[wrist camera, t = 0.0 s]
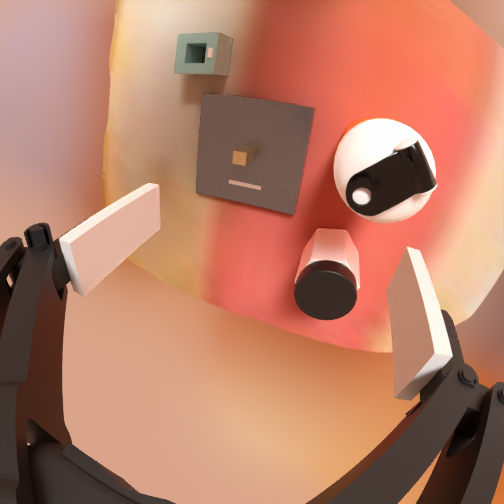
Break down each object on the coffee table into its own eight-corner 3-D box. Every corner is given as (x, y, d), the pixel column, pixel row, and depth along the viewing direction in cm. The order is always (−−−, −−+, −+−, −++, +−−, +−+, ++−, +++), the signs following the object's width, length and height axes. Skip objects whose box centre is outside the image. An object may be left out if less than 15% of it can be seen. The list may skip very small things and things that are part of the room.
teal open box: (195, 39, 33) (177, 34, 28) (232, 38, 32) (217, 32, 27) (191, 74, 36) (172, 73, 32) (227, 75, 35) (212, 73, 31)
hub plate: (207, 93, 37) (189, 94, 33) (315, 108, 34) (311, 109, 30) (199, 189, 46) (183, 201, 41) (295, 211, 43) (288, 226, 38)
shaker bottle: (322, 136, 36) (306, 169, 20) (371, 99, 31) (402, 97, 15) (362, 185, 38) (375, 257, 21) (410, 151, 33) (464, 200, 16)
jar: (295, 238, 45) (279, 282, 35) (340, 216, 41) (338, 258, 31) (321, 279, 48) (313, 329, 38) (364, 262, 44) (367, 312, 34)
